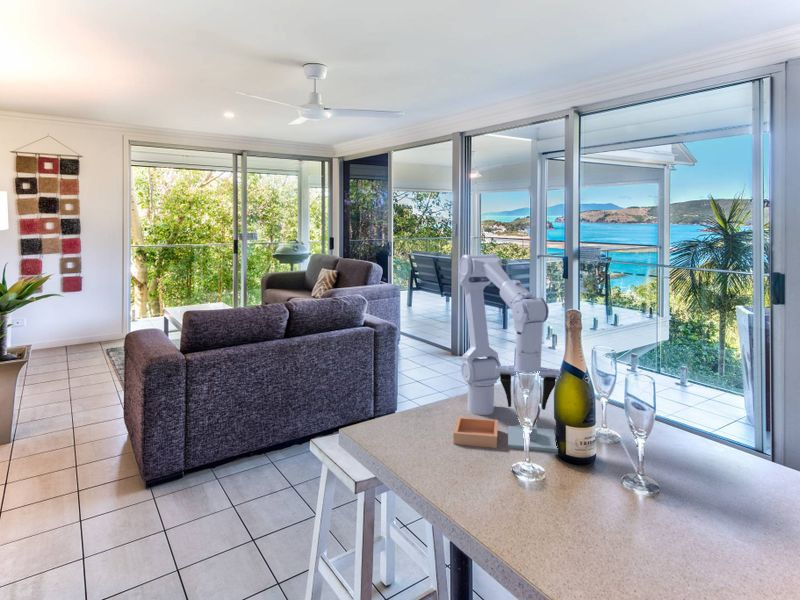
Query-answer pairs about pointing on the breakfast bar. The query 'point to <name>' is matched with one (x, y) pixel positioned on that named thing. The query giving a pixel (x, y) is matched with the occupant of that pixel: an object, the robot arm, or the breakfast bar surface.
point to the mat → (533, 451)
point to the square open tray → (476, 432)
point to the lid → (532, 439)
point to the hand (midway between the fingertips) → (526, 406)
